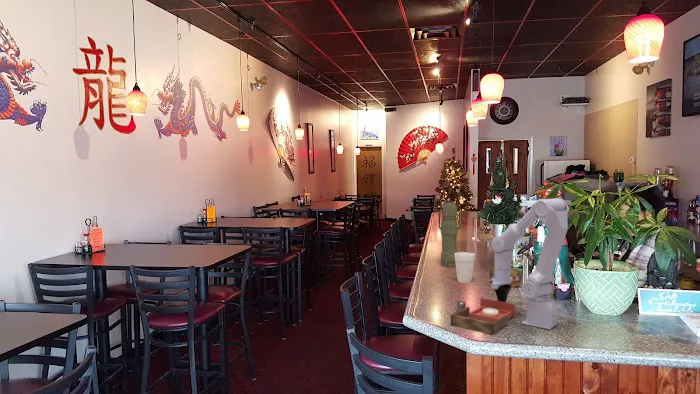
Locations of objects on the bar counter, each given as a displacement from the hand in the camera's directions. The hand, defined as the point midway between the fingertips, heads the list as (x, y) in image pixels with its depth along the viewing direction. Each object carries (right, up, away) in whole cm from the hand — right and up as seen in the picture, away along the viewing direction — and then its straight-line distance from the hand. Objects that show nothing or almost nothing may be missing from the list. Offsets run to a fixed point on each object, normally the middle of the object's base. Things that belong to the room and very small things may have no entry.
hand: (502, 304), depth 181 cm
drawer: (-7, -4, -8) cm, 11 cm away
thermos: (-3, +2, +83) cm, 83 cm away
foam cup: (-3, 0, +48) cm, 48 cm away
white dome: (-7, -2, -8) cm, 10 cm away
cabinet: (-12, -4, -14) cm, 18 cm away
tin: (+14, 0, +40) cm, 43 cm away
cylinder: (-15, -3, +1) cm, 15 cm away
